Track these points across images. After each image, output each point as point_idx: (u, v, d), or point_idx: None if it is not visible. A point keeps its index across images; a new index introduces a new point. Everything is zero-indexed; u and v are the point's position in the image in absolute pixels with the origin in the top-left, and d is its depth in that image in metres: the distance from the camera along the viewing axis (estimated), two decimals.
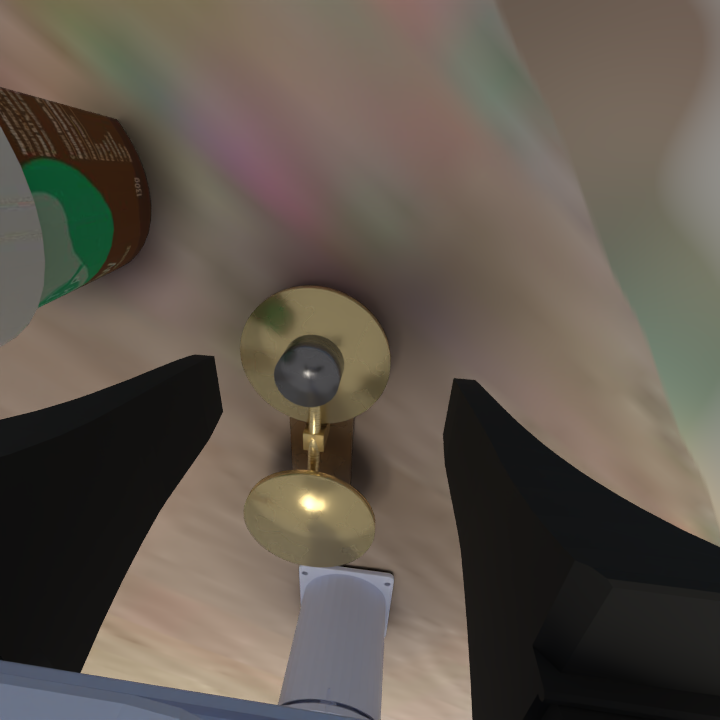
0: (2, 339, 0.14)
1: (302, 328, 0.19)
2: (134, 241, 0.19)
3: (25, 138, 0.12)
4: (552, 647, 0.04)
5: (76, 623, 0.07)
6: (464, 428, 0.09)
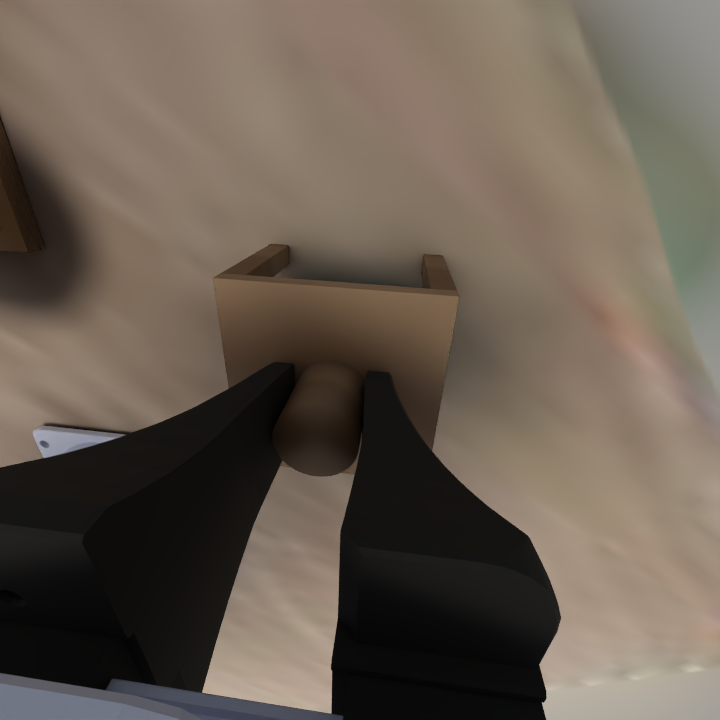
0: None
1: None
2: None
3: None
4: (346, 618, 0.05)
5: (201, 642, 0.07)
6: (363, 418, 0.09)
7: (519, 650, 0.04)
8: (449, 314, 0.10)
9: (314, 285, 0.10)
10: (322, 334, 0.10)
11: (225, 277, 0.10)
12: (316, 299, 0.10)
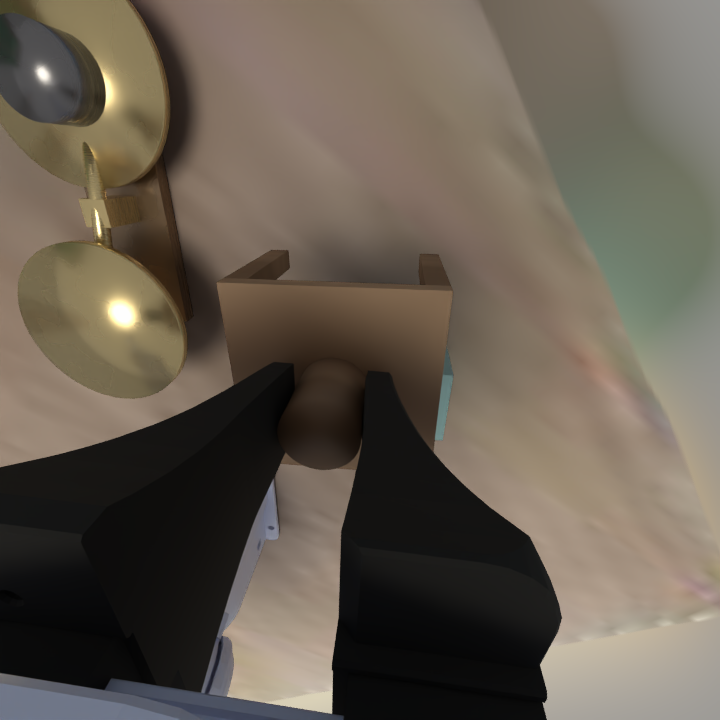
0: None
1: (36, 20, 0.14)
2: None
3: None
4: (347, 618, 0.05)
5: (200, 642, 0.07)
6: None
7: (520, 650, 0.04)
8: (444, 308, 0.10)
9: (313, 285, 0.10)
10: (323, 333, 0.11)
11: (228, 281, 0.11)
12: (315, 299, 0.10)
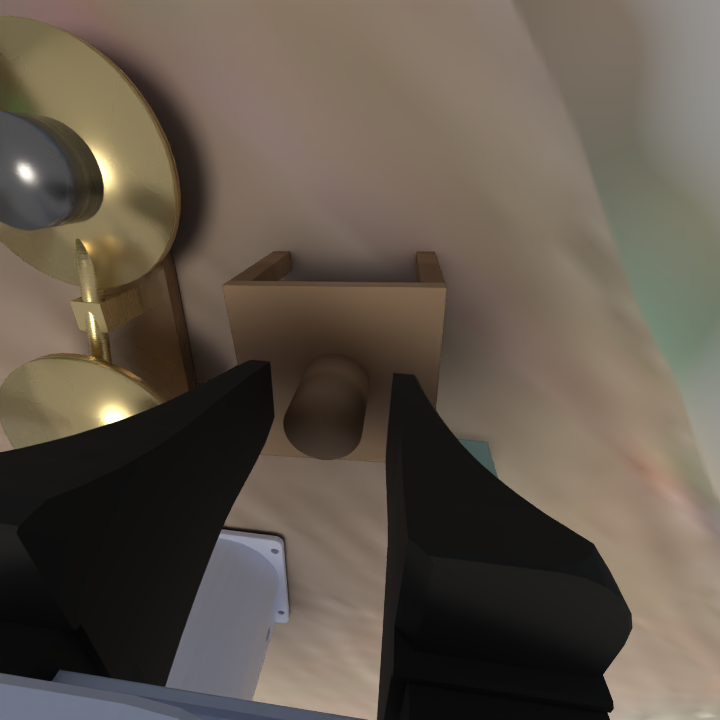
0: None
1: (19, 104, 0.12)
2: None
3: None
4: (406, 626, 0.04)
5: (163, 636, 0.07)
6: (393, 421, 0.09)
7: (585, 660, 0.04)
8: (439, 304, 0.11)
9: (313, 286, 0.11)
10: (324, 330, 0.11)
11: (233, 284, 0.11)
12: (316, 298, 0.11)
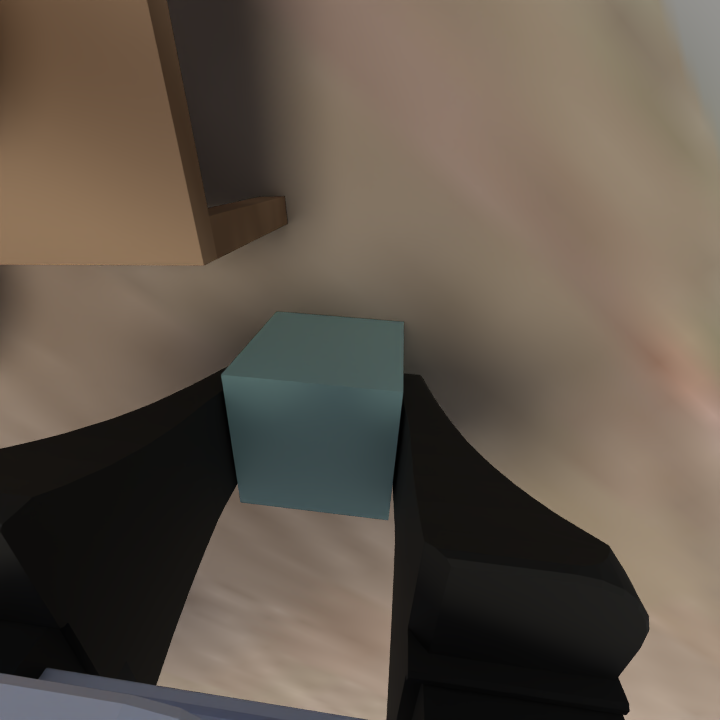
0: None
1: None
2: None
3: None
4: (420, 628, 0.04)
5: (154, 635, 0.07)
6: (400, 421, 0.09)
7: (601, 662, 0.04)
8: None
9: None
10: None
11: None
12: None
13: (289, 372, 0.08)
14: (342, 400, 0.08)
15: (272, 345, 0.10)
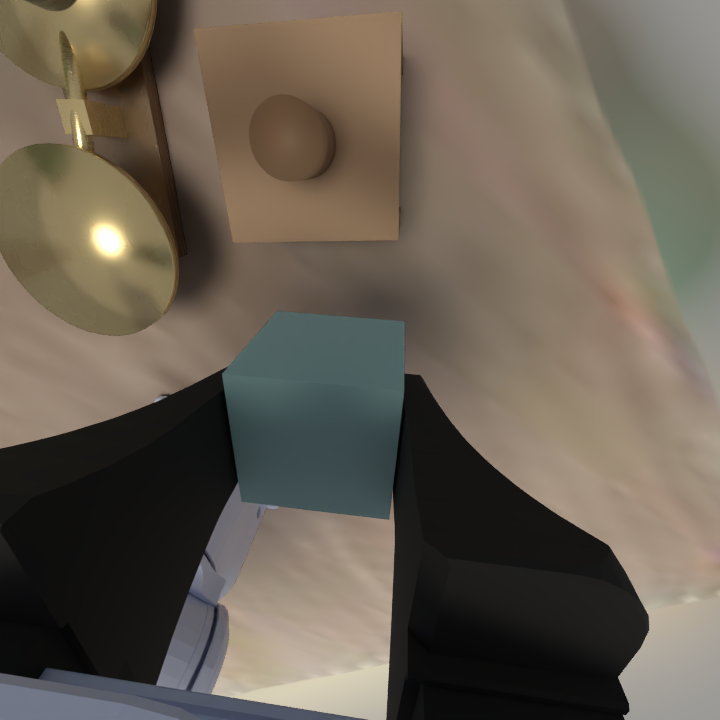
0: None
1: None
2: None
3: None
4: (420, 628, 0.04)
5: (154, 635, 0.07)
6: None
7: (600, 661, 0.04)
8: (395, 33, 0.11)
9: None
10: (290, 77, 0.12)
11: (204, 29, 0.12)
12: (281, 37, 0.12)
13: (290, 371, 0.08)
14: (343, 399, 0.08)
15: (273, 344, 0.10)
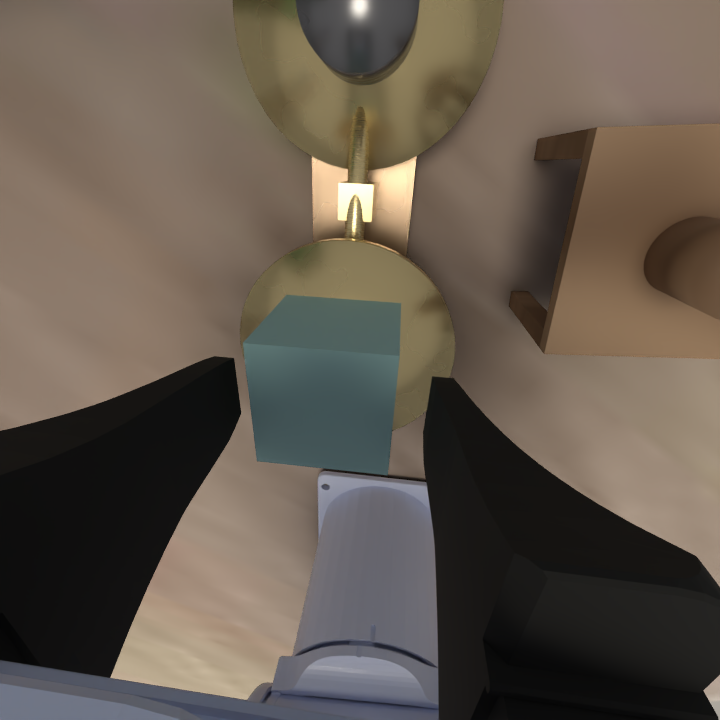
0: None
1: None
2: None
3: None
4: (499, 639, 0.04)
5: (107, 628, 0.07)
6: (438, 425, 0.09)
7: (689, 674, 0.04)
8: None
9: None
10: (701, 184, 0.10)
11: None
12: (711, 140, 0.10)
13: (301, 341, 0.10)
14: (347, 364, 0.09)
15: (285, 321, 0.11)
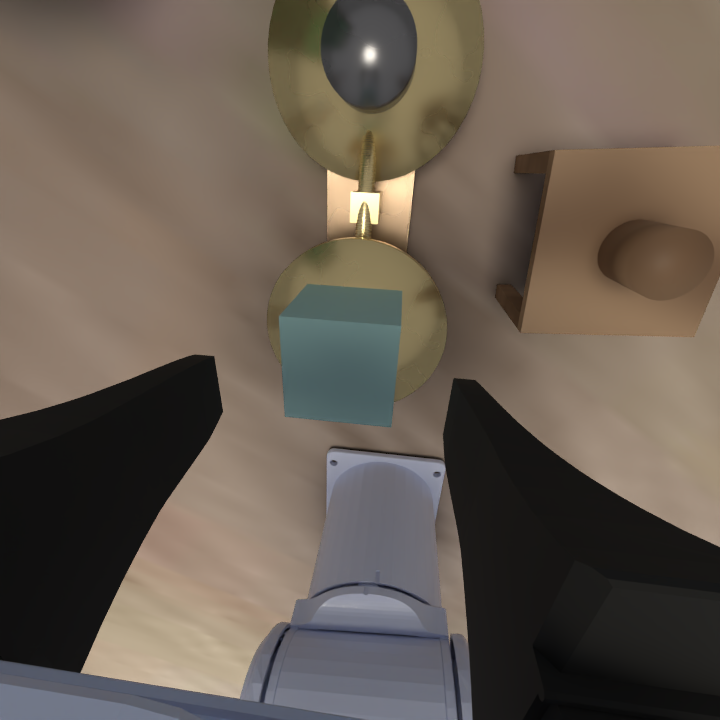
0: None
1: None
2: None
3: None
4: (551, 647, 0.04)
5: (76, 623, 0.07)
6: (464, 428, 0.09)
7: None
8: None
9: None
10: (638, 194, 0.13)
11: (562, 150, 0.12)
12: (643, 160, 0.12)
13: (324, 315, 0.12)
14: (360, 333, 0.12)
15: (309, 302, 0.14)
